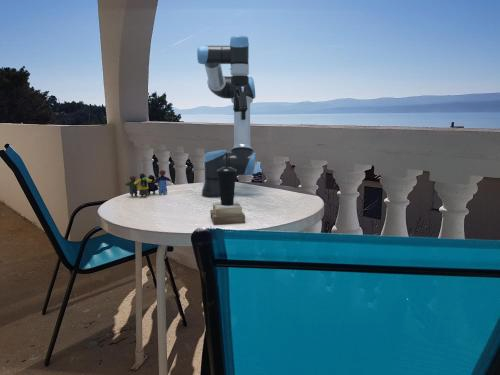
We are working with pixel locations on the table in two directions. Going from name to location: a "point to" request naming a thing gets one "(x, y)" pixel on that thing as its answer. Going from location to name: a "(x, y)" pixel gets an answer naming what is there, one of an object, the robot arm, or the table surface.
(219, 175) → the drinking cup
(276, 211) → the table surface
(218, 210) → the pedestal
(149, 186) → the doll family
